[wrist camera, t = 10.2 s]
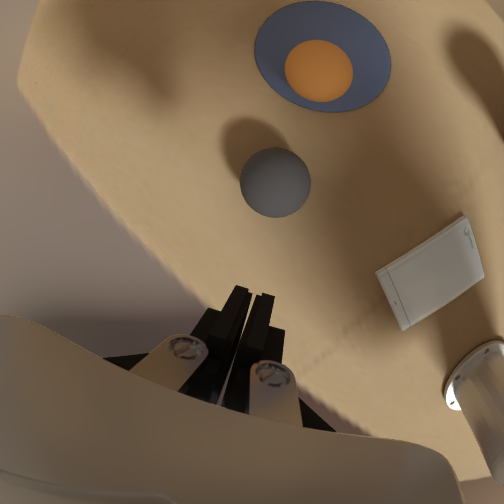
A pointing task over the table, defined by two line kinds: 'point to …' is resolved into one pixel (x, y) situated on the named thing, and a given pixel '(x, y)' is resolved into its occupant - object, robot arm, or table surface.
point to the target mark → (331, 30)
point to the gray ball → (275, 182)
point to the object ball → (318, 70)
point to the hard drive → (432, 273)
